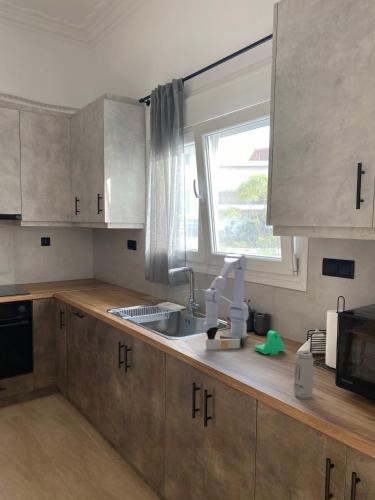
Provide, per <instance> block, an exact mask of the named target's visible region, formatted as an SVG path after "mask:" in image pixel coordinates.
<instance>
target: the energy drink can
mask: <svg viewBox="0 0 375 500" xmlns="http://www.w3.org/2000/svg"><path fill="white" fill-rule="evenodd" d="M294 358H295V359H294V379H293V380H294V382H293V383H294V384H293V386H294V387H293V393H294V395H295V397H296V398H298V399H300V400H309V399H311V397H312V396H313V389H314V388H313V387H314V366H315V365H314V364H315V363H314V362H315V359H314V357H313V353H312V352H310V351H308V350H307V351H306V350H300V351H297V352H296V355H295V357H294Z"/></svg>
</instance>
